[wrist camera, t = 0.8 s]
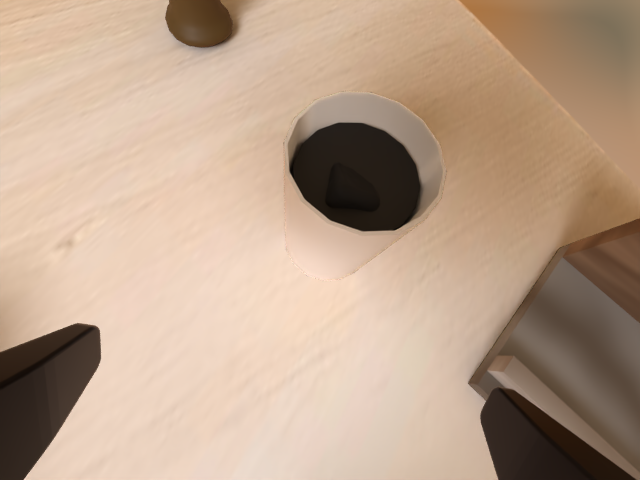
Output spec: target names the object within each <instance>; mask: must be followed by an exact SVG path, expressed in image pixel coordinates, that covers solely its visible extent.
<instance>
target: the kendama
mask: <svg viewBox="0 0 640 480" xmlns="http://www.w3.org/2000/svg"><path fill="white" fill-rule="evenodd" d="M165 19H166V22H167V25H168V28H169V31H170V32H171V33H172V34H173V35H174V37H175V38H176V39H177V40H179V41H181V42H183V43H184V44H186V45H189V46H195V47H209V46H214V45H216V44H218V43H220V42H222V41H224V40H225V39H226V38H227V37H228V36H229V35H230V34H231V32H232V19H231V17H230V14H229V12H228V10H227V9H226V8H225V7H224V6H223V5H222V3H221V2H220V0H169V5H168V7H167V11H166V17H165Z"/></svg>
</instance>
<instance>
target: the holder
mask: <svg viewBox="0 0 640 480" xmlns="http://www.w3.org/2000/svg"><path fill="white" fill-rule="evenodd" d="M468 384H469V385H470V386H471V387H472V388H473V389H474V390H475V391H476V392H477V393H479V394H480V395H481V396H482V397H483V398H484V399H485V400H487V398H488V396H489V394H490V392H491V390H492V389H493V388H495V387H503V388H510V389H513V390H515V391H516V392H518V393H519V394H521V395H522V396H523V397H525V398H526V399H527V400H529V401H530V402H531V403H533V404H534V405H536V406H537V407H538V408H540V409H541V410H542V411H544V412H545V413H547V414H548V415H549V416H551V417H552V418H553V419H555V420H556V421H557V422H559V423H560V424H562V425H563V426H564V427H566V428H567V429H568V430H570V431H571V432H572V433H574V434H575V435H577V436H578V437H579V438H581V439H582V440H583V441H585V442H586V443H587V444H589V445H590V446H592V447H593V448H594V449H596V450H597V451H598V452H600V453H601V454H602V455H604V456H605V457H607V458H608V459H609V460H611V461H612V462H613V463H615V464H616V465H617V466H619V467H620V468H622V469H623V470H624V471H626V472H627V473H628V474H630V475H631V476H632V477H634V478H635V479H637V480H640V219H637V220H634V221H632V222H629V223H626V224H623V225H621V226H618V227H615V228H612V229H610V230H607V231H604V232H601V233H599V234H596V235H593V236H590V237H588V238H585V239H582V240H579V241H577V242H574V243H571V244H568V245H566V246H563V247H560V248H559V250H558V251H557V253H556V254H555V256H554V257H553V259H552V260H551V261H550V263H549V264H548V266H547V267H546V269H545V270H544V272H543V273H542V275H541V276H540V278H539V279H538V281H537V282H536V284H535V285H534V287H533V288H532V290H531V291H530V293H529V294H528V295H527V297H526V298H525V300H524V301H523V303H522V304H521V306H520V307H519V309H518V310H517V312H516V313H515V315H514V316H513V318H512V319H511V321H510V322H509V324H508V325H507V327H506V328H505V329H504V331H503V332H502V334H501V335H500V337H499V338H498V340H497V341H496V343H495V344H494V346H493V347H492V349H491V350H490V352H489V353H488V355H487V356H486V358H485V359H484V361H483V362H482V363H481V365H480V366H479V368H478V369H477V371H476V372H475V374H474V375H473V377H472V378H471V380H470V381H469V383H468Z"/></svg>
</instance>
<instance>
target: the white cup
mask: <svg viewBox="0 0 640 480" xmlns="http://www.w3.org/2000/svg"><path fill="white" fill-rule="evenodd" d="M446 172H447V171H446V167H445V162H444V158H443V154H442V150H441V146H440V143H439V142H438V141H437V139H436V138H435V136H434V135H433V133H432V132H431V130H430V129H429V127H428V126H427V125H426V123H425V122H424V120H423V119H421V118H420V117H419V116H417V115H416V114H415V113H413V112H412V111H411V110H409V109H408V108H407V107H405V106H404V105H403V104H401V103H400V102H397V101H395V100H392V99H389V98H386V97H384V96H381V95H378V94H375V93H372V92H353V91H341V92H338V93H335V94H331V95H328V96H325V97H322V98H319V99H316V100H314V101H313V102H312V103H311V104H310V105H308V106H307V107H306V108H305V109H304V110H303V111H301V112H300V113H299V114H298V115H297V116H296V117H294V120H293V122H292V124H291V127H290V129H289V131H288V134H287V136H286V138H285V141H284V199H285V242H286V251H287V253H288V255H289V256H290V258H291V260H292V262H293V264H294V265H295V266H296V267H297V268H298V269H300V270H301V271H302V272H303V273H304V274H305V275H307V276H310V277H313V278H315V279H318V280H321V281H330V280H340V279H342V278H344V277H346V276H348V275H350V274H352V273H354V272H355V271H357V270H358V269H359V268H361V267H362V266H364V265H365V264H366V263H368V262H369V261H370V260H372V259H373V258H374V257H376V256H377V255H378V254H380V253H381V252H382V251H384V250H385V249H387V248H388V247H389V246H391V245H392V244H393V243H395V242H396V241H397V240H399V239H400V238H401V237H403V236H404V235H406V234H407V233H408V232H410V231H411V230H412V229H414V228H415V227H416V226H418V225H419V224H420V223H422V222H423V221H424V220H425V219H426V218H427V216H428V215H429V214H430V213H431V211H432V210H433V209H434V207H435V206H436V205H437V204H438V202H439V201H440V200H441V198H442V193H443V188H444V183H445V178H446Z"/></svg>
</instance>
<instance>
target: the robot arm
mask: <svg viewBox="0 0 640 480" xmlns="http://www.w3.org/2000/svg"><path fill="white" fill-rule="evenodd" d="M100 360H101V343H100V330H99V328H98V327H97V326H95V325H88V324H81V323H77V324H73V325H70V326H68V327H65V328H63V329H60V330H57V331H55V332H52V333H50V334H47V335H44V336H42V337H39V338H36V339H34V340H31V341H29V342H26V343H23V344H21V345H18V346H15V347H13V348H10V349H8V350H5V351H2V352H0V480H24V478H25V477H26V476H27V474H28V473H29V472H30V470H31V469H32V468H33V466H34V465H35V464H36V462H37V461H38V460H39V458H40V457H41V456H42V454H43V453H44V452H45V450H46V449H47V447H48V446H49V445H50V443H51V442H52V440H53V439H54V437H55V436H56V434H57V433H58V431H59V430H60V428H61V427H62V425H63V423H64V422H65V420H66V419H67V417H68V415H69V414H70V412H71V410H72V409H73V407H74V406H75V404H76V402H77V401H78V399H79V397H80V396H81V394H82V393H83V391H84V389H85V388H86V386H87V384H88V383H89V381H90V380H91V378H92V376H93V375H94V373H95V371H96V370H97V368H98V366H99V363H100ZM480 419H481V425H482V428H483V431H484V434H485V438H486V441H487V444H488V447H489V451H490V454H491V457H492V461H493V464H494V467H495V470H496V474H497V477H498V480H637V479H635V478H634V477H632V476H631V475H630V474H628V473H627V472H626V471H624V470H623V469H622V468H620V467H619V466H617V465H616V464H615V463H613V462H612V461H611V460H609V459H608V458H607V457H605V456H604V455H602V454H601V453H600V452H598V451H597V450H596V449H594V448H593V447H592V446H590V445H589V444H587V443H586V442H585V441H583V440H582V439H581V438H579V437H578V436H577V435H575V434H574V433H572V432H571V431H570V430H568V429H567V428H566V427H564V426H563V425H562V424H560V423H559V422H557V421H556V420H555V419H553V418H552V417H551V416H549V415H548V414H547V413H545V412H544V411H542V410H541V409H540V408H538V407H537V406H536V405H534V404H533V403H531V402H530V401H529V400H527V399H526V398H525V397H523V396H522V395H521V394H519V393H518V392H516V391H515V390H513V389H510V388H503V387H495V388H493V389H492V390H491V392H490V394H489V396H488V398H487V400H486V402H485V404H484V406H483V409H482V411H481V415H480Z"/></svg>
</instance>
